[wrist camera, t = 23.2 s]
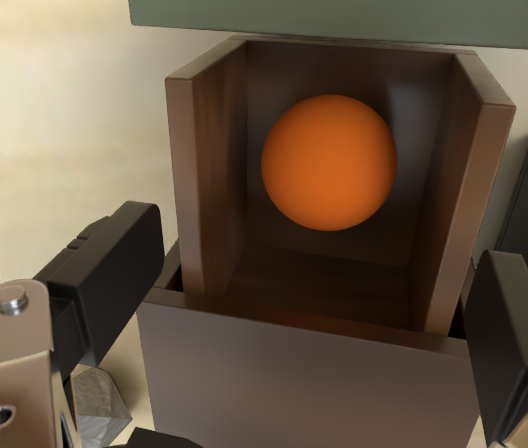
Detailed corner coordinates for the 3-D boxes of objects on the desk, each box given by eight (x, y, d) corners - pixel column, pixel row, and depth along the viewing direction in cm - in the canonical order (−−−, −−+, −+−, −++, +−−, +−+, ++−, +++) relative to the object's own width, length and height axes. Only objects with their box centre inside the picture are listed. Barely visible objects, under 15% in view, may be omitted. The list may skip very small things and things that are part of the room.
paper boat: (131, 464, 37) (6, 456, 35) (144, 377, 39) (28, 368, 38) (114, 482, 26) (-68, 472, 25) (134, 361, 28) (-29, 346, 27)
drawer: (215, -77, 17) (117, -86, 11) (525, -72, 15) (618, -78, 9) (224, 241, 24) (167, 343, 18) (436, 272, 22) (453, 397, 16)
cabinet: (216, 183, 23) (133, 299, 16) (461, 213, 21) (500, 363, 14) (223, 371, 31) (168, 515, 23) (407, 408, 28) (414, 578, 21)
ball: (411, 84, 17) (406, 132, 13) (390, 200, 20) (380, 268, 16) (281, 73, 18) (242, 113, 14) (278, 184, 21) (243, 244, 17)
